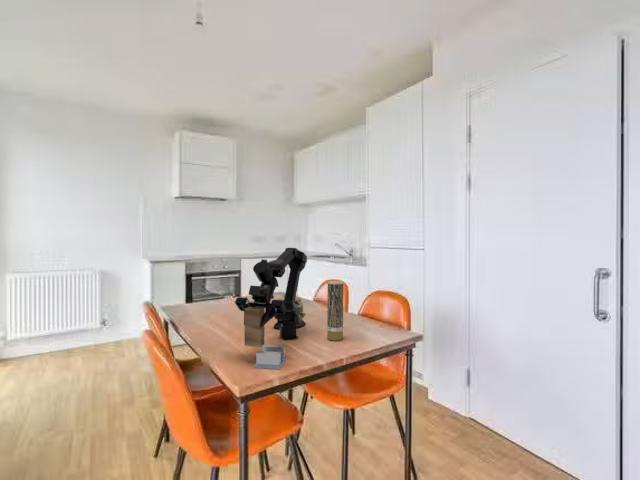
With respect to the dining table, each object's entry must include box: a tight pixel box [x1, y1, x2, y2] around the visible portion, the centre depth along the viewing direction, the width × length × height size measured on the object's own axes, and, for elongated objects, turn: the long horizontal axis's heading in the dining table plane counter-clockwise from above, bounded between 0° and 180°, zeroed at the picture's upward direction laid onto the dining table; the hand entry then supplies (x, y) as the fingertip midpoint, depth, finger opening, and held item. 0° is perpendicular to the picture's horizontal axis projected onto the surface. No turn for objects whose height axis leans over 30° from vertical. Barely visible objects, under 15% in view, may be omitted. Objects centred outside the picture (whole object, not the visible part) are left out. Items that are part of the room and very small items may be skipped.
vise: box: [254, 344, 287, 370], centre depth 126 cm, size 14×9×5 cm, turn 174°
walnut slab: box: [244, 307, 265, 348], centre depth 124 cm, size 4×6×13 cm, turn 72°
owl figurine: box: [273, 292, 306, 331], centre depth 172 cm, size 18×12×17 cm, turn 131°
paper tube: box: [326, 280, 344, 342], centre depth 152 cm, size 7×7×25 cm
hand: (252, 325), depth 123 cm, fingers closed on walnut slab, 6 cm apart
